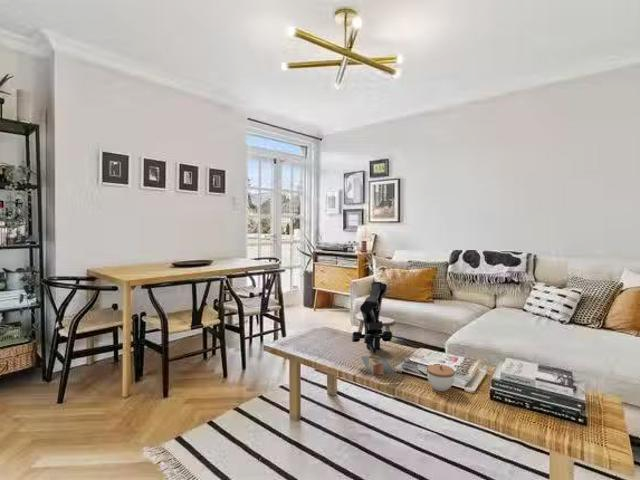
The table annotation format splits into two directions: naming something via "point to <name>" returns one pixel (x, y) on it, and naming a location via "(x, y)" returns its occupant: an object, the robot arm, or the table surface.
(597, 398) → the table surface
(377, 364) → the tan long rectangular block
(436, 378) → the lidded jar
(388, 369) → the rubber mat
